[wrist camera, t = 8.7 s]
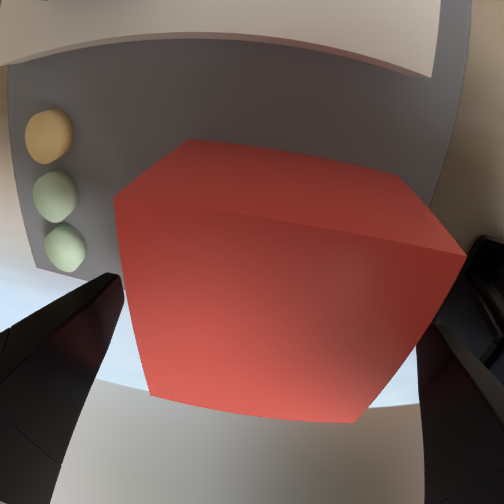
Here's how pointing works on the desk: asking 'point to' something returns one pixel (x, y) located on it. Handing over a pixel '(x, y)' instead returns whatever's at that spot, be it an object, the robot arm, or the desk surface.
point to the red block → (277, 279)
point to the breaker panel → (215, 97)
